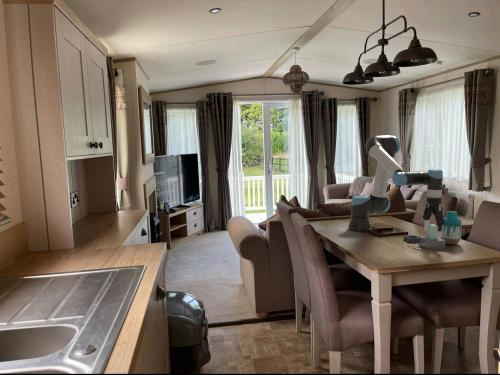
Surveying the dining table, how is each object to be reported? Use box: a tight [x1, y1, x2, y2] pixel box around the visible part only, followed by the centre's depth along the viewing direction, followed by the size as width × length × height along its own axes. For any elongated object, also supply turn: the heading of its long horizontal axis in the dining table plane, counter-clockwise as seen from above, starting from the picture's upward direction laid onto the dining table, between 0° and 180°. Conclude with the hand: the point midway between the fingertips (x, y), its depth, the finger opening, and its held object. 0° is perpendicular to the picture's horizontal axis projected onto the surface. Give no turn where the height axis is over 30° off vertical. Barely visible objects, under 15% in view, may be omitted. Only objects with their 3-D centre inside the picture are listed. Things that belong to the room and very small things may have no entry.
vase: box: [440, 210, 463, 245], centre depth 227 cm, size 11×11×19 cm
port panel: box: [418, 235, 446, 250], centre depth 222 cm, size 10×10×6 cm
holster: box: [403, 234, 420, 244], centre depth 236 cm, size 8×8×2 cm
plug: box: [426, 223, 438, 240], centre depth 221 cm, size 4×4×13 cm
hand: (432, 233), depth 221 cm, fingers open, 13 cm apart
